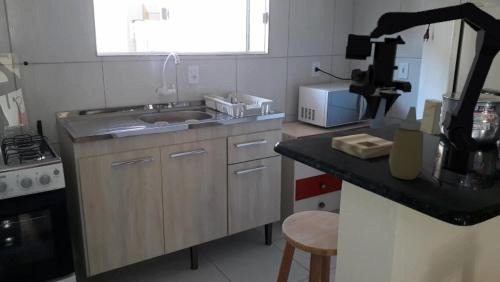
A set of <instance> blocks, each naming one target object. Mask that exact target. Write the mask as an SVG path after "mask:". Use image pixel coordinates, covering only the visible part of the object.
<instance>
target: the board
mask: <svg viewBox="0 0 500 282" xmlns="http://www.w3.org/2000/svg"><path fill="white" fill-rule="evenodd" d="M331 140H332V141H331V148H332V149H336V150H338V151H341V152H344V153H346V154H349V155H352V156H355V157H357V158H360V159H362V160H366V159H371V158H377V157H382V155H383V156H387V155H390V153H391V149H392V145H393V141H390V140H387V139H383V138H380V137H376V136H374V135H371V134H367V133H360V134H353V135H346V136H345V135H344V136H337V137H332V138H331Z"/></svg>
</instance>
